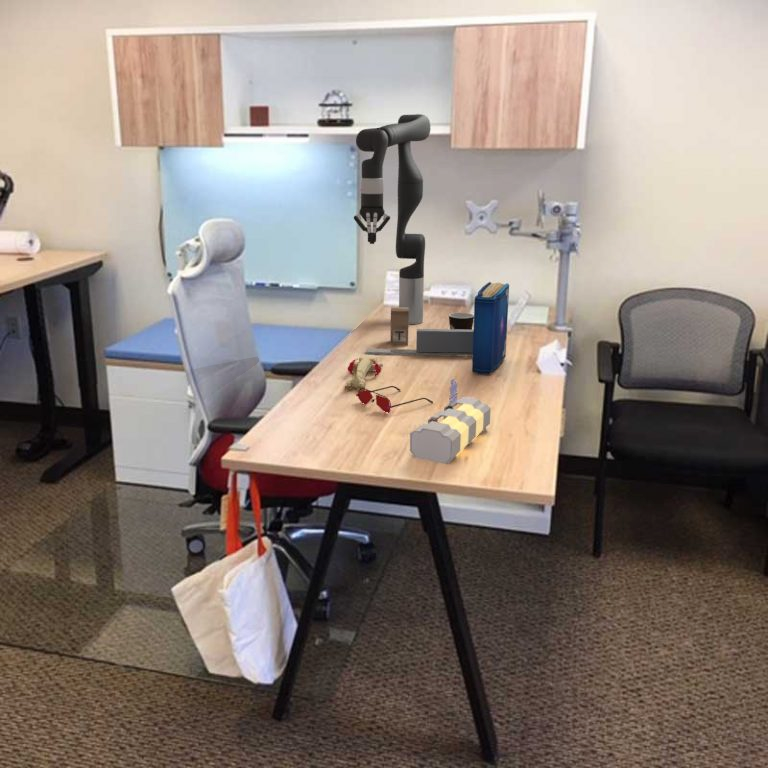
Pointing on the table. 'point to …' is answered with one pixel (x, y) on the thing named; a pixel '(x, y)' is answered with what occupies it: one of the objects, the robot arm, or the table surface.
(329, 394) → the table surface
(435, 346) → the panel
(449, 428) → the grey yellow banded box
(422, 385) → the table surface
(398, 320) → the walnut block
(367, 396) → the glasses
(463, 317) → the coffee mug
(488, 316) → the book
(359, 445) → the table surface
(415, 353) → the rail
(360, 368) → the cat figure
